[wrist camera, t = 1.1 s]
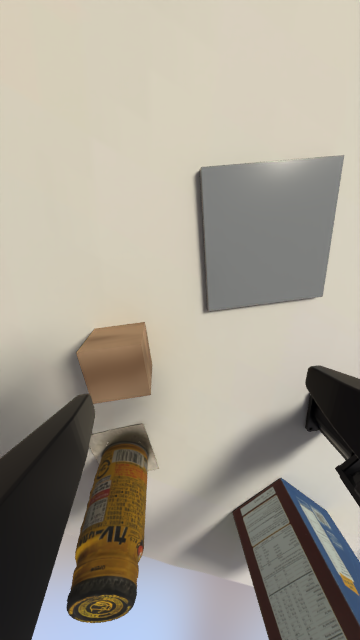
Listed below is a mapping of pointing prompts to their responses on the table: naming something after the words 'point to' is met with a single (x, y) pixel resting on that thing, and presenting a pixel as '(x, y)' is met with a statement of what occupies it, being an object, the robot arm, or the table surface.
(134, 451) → the condiment
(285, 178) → the slate pad
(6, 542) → the robot arm
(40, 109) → the table surface
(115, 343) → the walnut cube
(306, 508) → the protein box
